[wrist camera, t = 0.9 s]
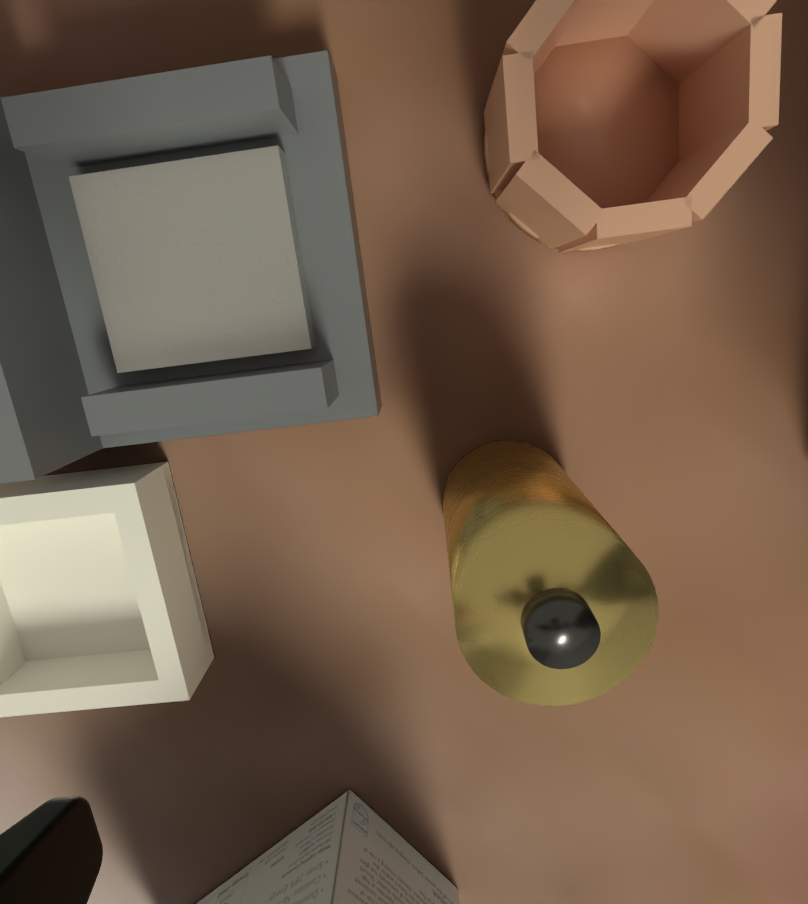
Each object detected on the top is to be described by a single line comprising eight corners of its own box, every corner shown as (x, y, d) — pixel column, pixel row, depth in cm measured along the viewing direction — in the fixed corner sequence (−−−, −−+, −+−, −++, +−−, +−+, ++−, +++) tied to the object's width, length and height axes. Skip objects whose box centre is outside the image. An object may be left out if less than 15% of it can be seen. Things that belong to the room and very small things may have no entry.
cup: (694, 5, 15) (788, -98, 11) (693, 237, 16) (777, 217, 12) (474, 39, 15) (492, -49, 11) (492, 263, 16) (514, 252, 13)
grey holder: (336, 74, 15) (300, -21, 11) (381, 406, 18) (367, 442, 13) (-55, 134, 16) (-242, 69, 11) (37, 447, 18) (-90, 494, 14)
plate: (285, 153, 14) (278, 145, 14) (316, 346, 16) (311, 348, 15) (86, 183, 15) (68, 176, 14) (132, 369, 16) (117, 373, 15)
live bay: (167, 461, 18) (134, 483, 16) (214, 657, 20) (189, 700, 18) (-45, 486, 19) (-105, 510, 16) (19, 676, 20) (-28, 719, 18)
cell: (566, 433, 18) (670, 527, 10) (573, 552, 19) (672, 717, 11) (436, 448, 18) (446, 550, 10) (449, 565, 19) (467, 734, 11)
